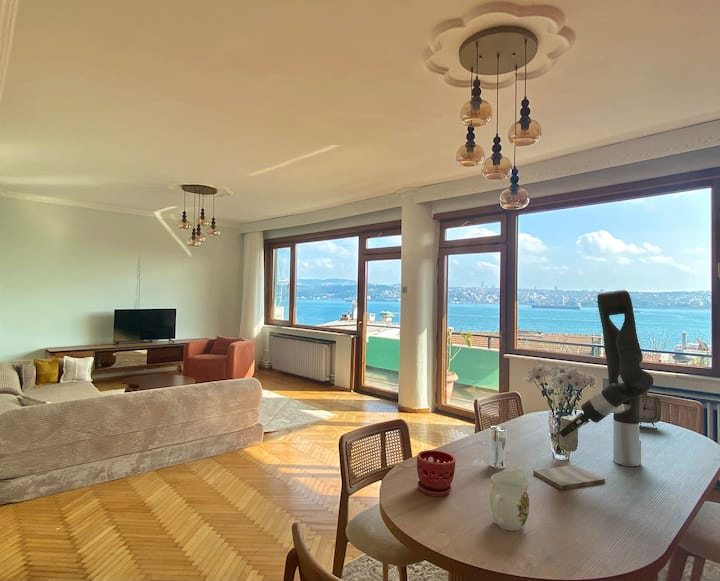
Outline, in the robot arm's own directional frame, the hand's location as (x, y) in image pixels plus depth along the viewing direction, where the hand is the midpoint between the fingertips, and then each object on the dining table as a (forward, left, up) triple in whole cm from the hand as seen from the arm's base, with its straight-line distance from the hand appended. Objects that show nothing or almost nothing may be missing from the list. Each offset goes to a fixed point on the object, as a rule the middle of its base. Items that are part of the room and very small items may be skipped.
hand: (564, 432), depth 161 cm
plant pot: (+52, -4, -17) cm, 55 cm away
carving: (-1, +1, -6) cm, 6 cm away
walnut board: (-1, +1, -17) cm, 17 cm away
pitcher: (+43, +23, -17) cm, 52 cm away
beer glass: (+17, -17, -17) cm, 29 cm away
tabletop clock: (-93, -42, -17) cm, 103 cm away
